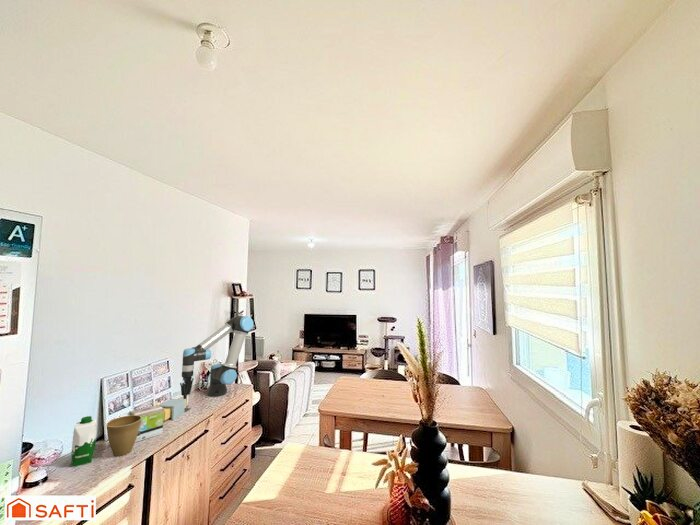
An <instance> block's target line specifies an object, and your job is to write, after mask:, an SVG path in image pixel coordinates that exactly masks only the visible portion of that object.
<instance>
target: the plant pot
mask: <svg viewBox="0 0 700 525" xmlns="http://www.w3.org/2000/svg"><path fill="white" fill-rule="evenodd" d="M141 419H142V417H141V416H138V415H130V416H129V415H124V416H119V417H116V418H114V419H112V420H110V421H107V423H106V432H107V433H106V434H107V439H108V443H109V446H110V450H111V453H112V454H113V456H114V457H122V456H126V455H128V454H130V453H131V452H132V450H133V447H134V445H135V443H136V442H135V440H136V438H137V435H138V431H139V428H140V423H141Z"/></svg>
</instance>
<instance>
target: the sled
mask: <svg viewBox="0 0 700 525" xmlns="http://www.w3.org/2000/svg"><path fill="white" fill-rule="evenodd" d="M184 400H185V408H186V406H187V405H186V399H184ZM170 417H171V418H172V412H171V408H164V420H163V421H165V420H166V421H168V420H169V419H168V418H170ZM171 418H170V419H171ZM167 419H168V420H167ZM166 421H165V422H166Z"/></svg>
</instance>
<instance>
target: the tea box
mask: <svg viewBox="0 0 700 525" xmlns="http://www.w3.org/2000/svg"><path fill="white" fill-rule="evenodd" d="M159 405H160V404H156V405H151V406H148V407H143V408H140V409H135V410H131V411H129V415H128V416H130V415H138V416H141V417H142V419H141V423H140V428H139V431H138V435H137V438H136V440H135V443H137V442H140V441H144V440H146V439H150V438H153V437H156V436H159V435H160V436H161V435H162V434H163V433H164V432H163V431H164V422H163V420H164V408H162V407H161V406H159Z"/></svg>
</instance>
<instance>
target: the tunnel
mask: <svg viewBox="0 0 700 525" xmlns="http://www.w3.org/2000/svg"><path fill="white" fill-rule="evenodd" d="M158 405H159V406H161V407H162V408H171V412H172V417H170V418H168V419H167V420H165V421H163V423H165V422H166V421H168V420H170V419H171V420H170V421H175V420H177V419H178V418H179V417H181V416H183V415H184V414H186V413H187V412H188V411H190V410H191V409H192V408H191V407H190V406H189V405H186V408H185V400H184V399H183V398H180V399H179V398H169V399H168V400H166V401H165V402H163V403H160V404H158Z"/></svg>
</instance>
